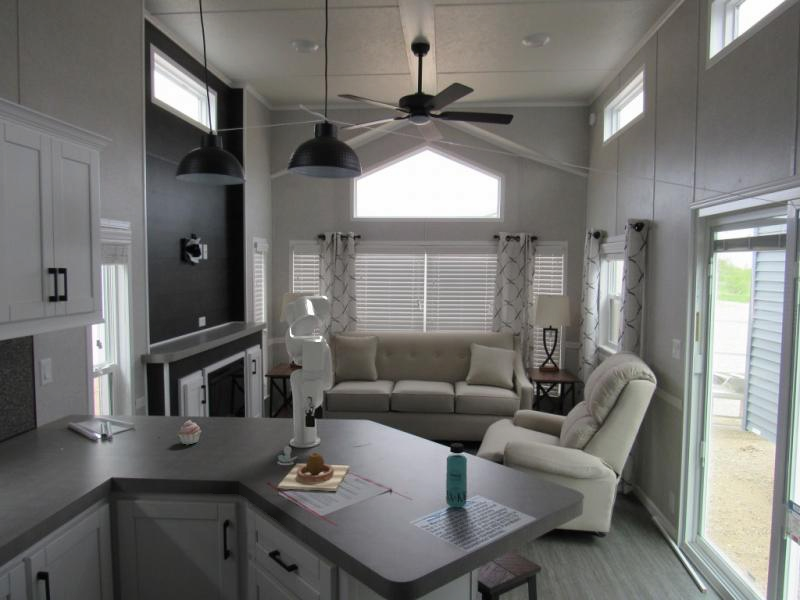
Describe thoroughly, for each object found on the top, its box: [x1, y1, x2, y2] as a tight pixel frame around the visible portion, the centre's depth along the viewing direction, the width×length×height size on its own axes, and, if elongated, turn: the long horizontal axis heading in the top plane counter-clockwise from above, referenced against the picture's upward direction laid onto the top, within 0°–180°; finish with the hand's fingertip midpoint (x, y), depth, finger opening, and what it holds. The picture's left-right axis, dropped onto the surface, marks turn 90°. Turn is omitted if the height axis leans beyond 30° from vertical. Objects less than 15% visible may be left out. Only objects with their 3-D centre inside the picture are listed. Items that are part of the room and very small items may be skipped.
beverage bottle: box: [445, 442, 468, 508], centre depth 166 cm, size 6×7×20 cm
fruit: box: [305, 452, 325, 475], centre depth 190 cm, size 6×6×8 cm
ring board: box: [277, 463, 351, 492], centre depth 190 cm, size 20×20×3 cm
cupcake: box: [177, 419, 202, 445], centre depth 229 cm, size 9×9×10 cm
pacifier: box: [277, 445, 298, 466], centre depth 205 cm, size 7×6×6 cm
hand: (314, 422), depth 189 cm, fingers open, 9 cm apart
